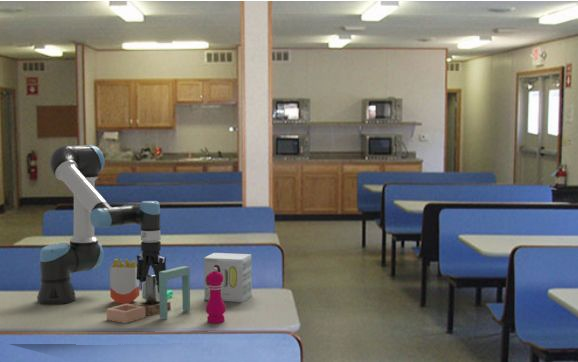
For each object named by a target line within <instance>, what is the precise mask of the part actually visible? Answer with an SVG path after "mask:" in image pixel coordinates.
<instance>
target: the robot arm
mask: <svg viewBox="0 0 578 362" xmlns="http://www.w3.org/2000/svg"><path fill="white" fill-rule="evenodd" d="M105 162H106V161H105V157H104V154H103V152H102V150H101V149H100V148H99V147H97V146H96V145H89V144H77V145H69V144H68V145H61V146H59V147H57V148H55V149H54V151H53V152H52V154H50V158H49V168H50V171H51V172H52V173H51V174H53V175H54V177H56V179H57V180H58V181H61V182H63V183H64V185H66V187H67V188H68V189H69V190H70V191H71V192H72V194H73V236H72V237H71V238H70V239H69V243H68V242H59V243H52V244H47V245H46V246H44V247H42V248H41V250H40V253H39V254H40V255H39V261H40V287H39V290H38V293H37V296H36V302H37V304H39V305H47V306H54V305H63V304H68V303H72V302H74V301H75V300H76V292H75V290H74V286H73V284H72V281H71V274H74V273H78V272H80V273H81V272H84V271H85V272H86V271H91V270H95V269H97V268H99V266H100V265H101V264H102V263H103V261H104V260H103V259H104V253H105V252H104V248H103V246H102V243H100V242H99V239H98V237H96V235H95V229H107V228H113V227H120V226H128V225H129V226H130V225H139V226H140V241H141V242H140V251H141V252H142V253H140V254H136V263H137V264H136V265H137V280H139V283H140V290H141V300H144V299H145V298H146V275H149V271H150V267H151V268H152V270H153V274H155V277H156V281H157V284H155V285H156V301H159V272H160V271H165V270H167V266H166V261H167V257H166V256H161V254H160V251H161V248H162V247H161V246H162V243H161V234H162V233H161V206H160V205H161V204H160V202H159V201H157V200H143V201H141V202H140V204H138V205H136V204H130V203H129V204H124V205H120V206H111V205H110V204H109V203H108V202H107V201H106V200H105V198H104V197H103V196H102V194H101V193H100V192H99V191H98V190H97V189H96V186H95V185H96V184H95V182H96V180H97V179H98V178H99V176H100V175H99V173H100V172H102V171H103V169H104V167H105V164H106V163H105Z"/></svg>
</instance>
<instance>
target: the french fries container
mask: <svg viewBox="0 0 578 362" xmlns="http://www.w3.org/2000/svg"><path fill="white" fill-rule="evenodd" d="M124 261H125V263H124V262H122V259H121V258H120V259H118V258H114V259H113V264H110V266H109V289H110V290H109V291H110V294H109V295H110V298H111V299H112V300H113V301H114V302H115V303H116V304H126V303H127V304H131V303H133V301H135V300H136V299H137V298H138V297H139V296H140V280H137V264H136V263H137V260H132V261H129V259H125V260H124Z"/></svg>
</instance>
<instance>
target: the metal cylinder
mask: <svg viewBox="0 0 578 362" xmlns="http://www.w3.org/2000/svg"><path fill="white" fill-rule="evenodd" d="M155 284H157V281H156V277H155V274H154V273H151V274H150V273H148V275H146V300H145V301H146V305H150V306H153V305H157V304H158V301H156V285H155Z"/></svg>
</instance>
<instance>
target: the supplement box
mask: <svg viewBox="0 0 578 362" xmlns="http://www.w3.org/2000/svg"><path fill="white" fill-rule="evenodd" d="M203 260H204V261H203V262H204V263H203V267H204V269H203V278H204V279H203V280H204V284H203V285H204V287H203V288H204V290H203V291H204V296H203V297H204V298H203V299H204V301H209V298H210V289H209V283H208V281H207V276H208V274H209V273H210V272H213V268H214V267H216V268H217V269H218V270H217V271H218V272H220V273H222V275H223V278H224V279H223V282H222V283H221V284H222V289H221V297H222V300H223V302H231V303H232V302H233V303H244V302H246V300H248V299H250V297H252V296H253V284H252V282H253V281H252V280H253V279H252V272H253V271H252V254H251V253H250V254H249V253H235V252H233V253H231V252H229V253H228V252H227V253H226V252H213V253H211V254H209V255H207V256H205V257H204V258H203Z"/></svg>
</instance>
